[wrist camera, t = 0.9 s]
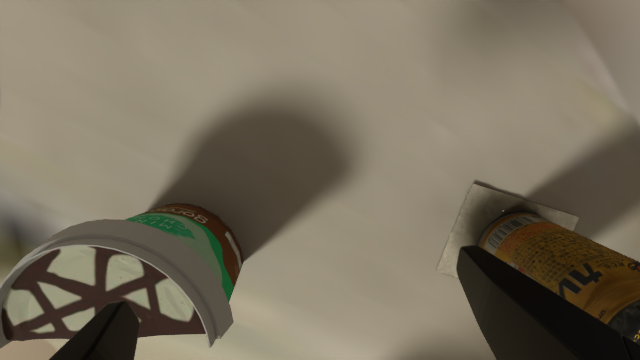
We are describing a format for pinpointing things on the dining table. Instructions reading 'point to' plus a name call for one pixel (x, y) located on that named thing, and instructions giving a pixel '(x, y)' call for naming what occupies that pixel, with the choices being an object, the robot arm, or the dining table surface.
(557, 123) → the dining table surface
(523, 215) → the condiment
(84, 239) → the food container
